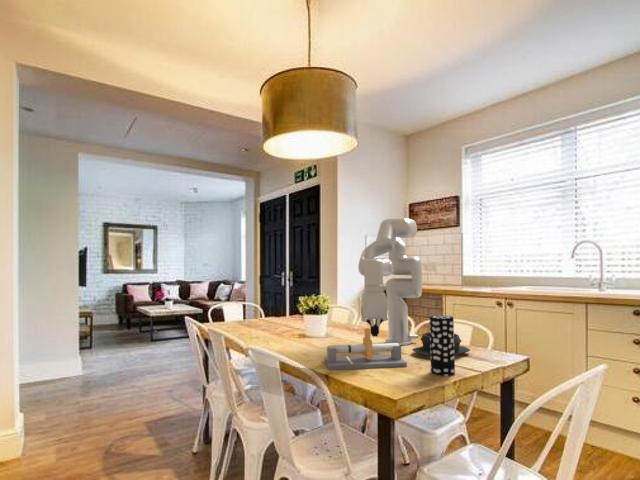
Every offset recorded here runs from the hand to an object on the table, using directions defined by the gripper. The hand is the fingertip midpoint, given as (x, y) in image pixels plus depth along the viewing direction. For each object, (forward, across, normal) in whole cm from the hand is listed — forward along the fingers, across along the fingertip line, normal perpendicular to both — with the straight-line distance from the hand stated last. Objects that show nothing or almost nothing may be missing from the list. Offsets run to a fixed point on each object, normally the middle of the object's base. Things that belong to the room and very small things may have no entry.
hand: (374, 335), depth 157 cm
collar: (+8, +3, 0) cm, 9 cm away
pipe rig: (+11, +4, 0) cm, 12 cm away
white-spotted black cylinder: (+11, -20, +17) cm, 29 cm away
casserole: (+11, -32, -10) cm, 35 cm away
